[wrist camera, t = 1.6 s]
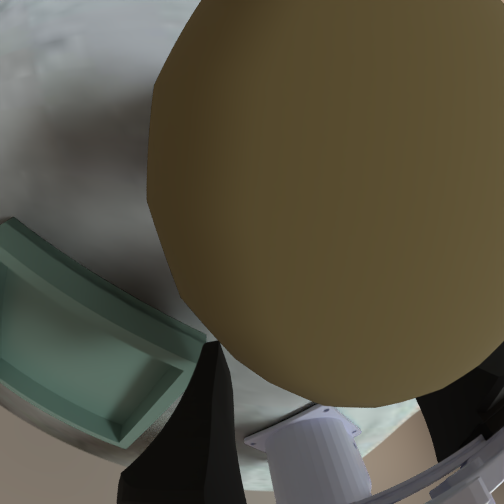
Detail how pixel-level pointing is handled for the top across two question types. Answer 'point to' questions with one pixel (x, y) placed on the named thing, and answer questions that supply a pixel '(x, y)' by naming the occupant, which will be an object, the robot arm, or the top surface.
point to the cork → (337, 189)
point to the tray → (86, 343)
